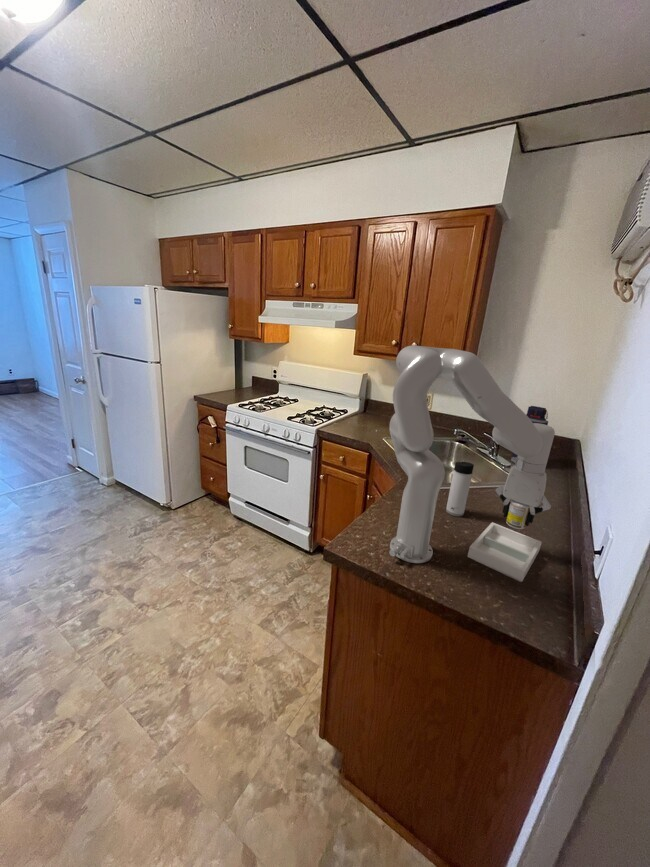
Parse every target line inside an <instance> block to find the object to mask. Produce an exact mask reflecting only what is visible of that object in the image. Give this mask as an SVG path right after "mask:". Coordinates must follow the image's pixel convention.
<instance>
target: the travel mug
mask: <svg viewBox="0 0 650 867" xmlns="http://www.w3.org/2000/svg"><path fill="white" fill-rule="evenodd" d="M474 467H475V465H474V463H472V462H469V461H456V462H455V463H454V467H453V472H452V477H451V478H452V479H451V483H450V487H449V492H448V496H447V497H448V499H447V504H446V509H445V511H446V513H447V514H449V515H451V516H455V517H463V516H464V514H465V511H466V505H467V501H468V495H469V491H470V487H471V482H472V478H473V473H474V472H473V471H474Z"/></svg>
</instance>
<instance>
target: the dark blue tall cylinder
mask: <svg viewBox="0 0 650 867" xmlns="http://www.w3.org/2000/svg"><path fill="white" fill-rule="evenodd" d="M525 414H526V415H527V416H528V417H529V419H530V420H531V421H532V423H539V424H544V425H548V426H549V421H548V418H549V417H548V416H549V413H548V410H547V409H546V408H545V407H541V406H536V405H535V406H534V405H530V406H528V408H527V412H526V413H525ZM512 457H518V455H517V454H515V453H513V452H512V454H511V458H510V460H511V459H512ZM513 463H515V462H513V461H512V464H513Z"/></svg>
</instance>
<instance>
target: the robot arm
mask: <svg viewBox="0 0 650 867" xmlns="http://www.w3.org/2000/svg"><path fill="white" fill-rule="evenodd" d="M395 364H396V367H397V370H398V371H399V373H400V375H399V376H398V378H397V381H396V383H395V385H394V387H393V392H392V402H393V408H394V413H393V415H392V416H391V417H390V421H389V434H390V437H391V438H390V440H391V442H392V446H393V451H394V454H395V457H396V460H397V463H398V465H399V467H400V468H401V469H402V470H403V471H404V473H405V475H407V478H408V479H407V482H406V485H405V487H404V489H403V492H402V498H401V505H400V511H399V519H398V524H397V530H396V536H395V537H392V538H391V541H390V542H389V543H390V544H389V555H390V556H391V557H397V558H399V560H400V559H401V561H404V562H407V563H411V564H412V563H413V564H423V563H426V562H429V561H430V560H431V559H432V557H433V555H434V554H433V553H434V552H433V548H432V546H431V545H430V538H431V534H432V528H433V525H434V524H433V522H434V517H435V513H436V506H437V501H438V498H439V497H438V496H439V492H440V489H441V488H442V485H443V483H444V479H445V477H446V476H445V475H446V470H445V466H444V464H443V462H442V461H441V459H440V458H439V457H438V456H437V455H436V454H434V453H433V452H432V450H430V448H431V446H432V445H433V442H434V438H435V436H434V429H433V425H432V419H431V416H430V411H429V406H428V399H427V398H428V393H429V389H430V388H431V386H433V384H434V382H435V381H436V380H437V379H442V380H446V381H450V382H452V384H453V385H454V386H455V388H456V389H457V390H458V392H459V393H460V394H461V396H462V397H463V398H464V399H465V401H466V402H467V403H468V405H469V407H470V408H471V409H472V410H473V411H474V412H475V413H476V414H477V415H478V416H479V417H480V418H482V419H483V420H485V421H486V422H488V423H489V424H491V426H493V429H492V433H491V435H492V438H493V440H494V441H495V443H497V444H498V445H499V446H501V447H503V448H505V450H506V449H507V450H508V451H510V452H512V453H515V454H517V455H518V457H512V456H511V457H512V459H511V458H510V461H511V462H512V463H513V462H515V464H514V465H512V466H511V468H510V470H509V471H508V474H507V478H506V480H505V484H502V485H500V486H498V487H497V488H495V492H496V494H497V495H498V496H499V498H500V500H501V501H502V503H503V509H502V514H503V516H502V517H503V518H507V514H508V510H509V506H510V501H511V500H513V501H516V502H519V503H522V504H525V505H528V506H530V512H529V513H528V516H527V520H526V524H525V525H526V527H528V526H529V525H530V524H532V523H533V522H534V519H535V515H537V514H540V513H542V512H545V511H548V510H550V509H551V507H552V505H551V503H550V502H549V500H548V499H547V497H546V495H545V490H546V486H547V473H546V467H547V464H548V460H549V456H550V452H551V448H552V446H553V442H554V439H555V438H554V437H555V434H556V433H555V432H556V431H555V429H554V428H553V427H552V426H550V425H549V424H548V425H544V424H539V423H532V421H531V420H530V419H529V417H528V416H527V415H526V414H527V413H525V412H524V411H523V410H522V409H521V408H520V407H519V406H518V405H517V404H516V403H514V401H513V400H512V399H511V398H510V397H509V396H508V395H507V394H505V392H503V390H502V389H501V388H500V386H499V384H498V383H497V382H496V380H495V379H494V378H493V376H492V374H491V373H490V372H489V371H488V368H487V367H486V366H485V364H484V363H483V362H482V360H481V359H480V358H479V357H478V356H477V355H476V354H475V353H473V352H470V351H466V350H461V349H456V348H444V347H432V346H423V345H422V346H421V345H415V344H414V345H408V346H405V347H404V348H402V349H401V350H400V351H399V352H398V354H397V356H396V360H395ZM541 504H542V505H541Z"/></svg>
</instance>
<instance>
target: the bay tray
mask: <svg viewBox="0 0 650 867" xmlns="http://www.w3.org/2000/svg"><path fill="white" fill-rule="evenodd" d="M541 546H542V541H541V540H538V539H535V538H533V537H531V536H528V535H525V534H523V533H520V532H517V531H515V530H512V529H510V528H508V527H505V526H503V525H500V524H498V523H495V522H493V521H492V522H491V523H489V525H488V526H487V527H486V528H485V529H484V531H482V533H481V534H480V535H479V536H478V537H477V538H476V539H475V540H474V541H473V542H472V544H471V545H470V546H469V547H468V548H469V549H468V553H467V558H469V559H471V560H473V561H475V562H477V563H479V564H482V565H483V566H485V567H488V568H490V569H492V570H494V571H497V572H499V573H500V574H503V575H504V576H507V577H509V578H512V579H513V580H515V581H518V582H520V583H523V581H524V580H525V577H526V576H527V574H528V573H529V571H530V568H531V566H532V565H533V563H534V562H535V560H536V558H537V556H538V554H539V552H540V549H541Z"/></svg>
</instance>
